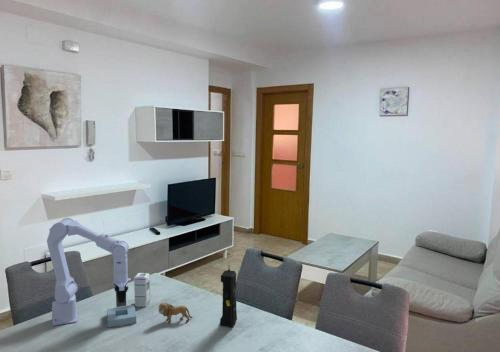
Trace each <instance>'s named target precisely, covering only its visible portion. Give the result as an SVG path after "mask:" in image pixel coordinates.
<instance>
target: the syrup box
mask: <svg viewBox="0 0 500 352" xmlns="http://www.w3.org/2000/svg"><path fill="white" fill-rule="evenodd" d="M133 282H134V283H133V286H134V290H133V291H134V307H138V308H139V307H141V308H143V307H144V308H145V307H146V308H147V307H148V305H149V304H150V302H151V288H150V287H151V285H150V284H151V283H150V282H151V281H150V273H149V272H138V273H137V274H136V275H134V277H133Z"/></svg>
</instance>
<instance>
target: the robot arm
mask: <svg viewBox="0 0 500 352" xmlns="http://www.w3.org/2000/svg"><path fill="white" fill-rule="evenodd" d="M48 231H49V233H48V236H47V238H46V244H47V249H48V253H49V255H50V260H51V264H52V268H53V272H54V275H55V281H56V282H55V285H54V290H55V291H54V300H53V301H52V304H51V314H52V315H51V319H52V321H51V322H52V326H58V325H59V326H60V325H64V324H72V323H77V322H78V316H79V314H78V312H77V297H76V293H78V290H79V287H78V284H77V283H76V282H75V280H74V277H72V276H71V275H70V270H69V267H68V263H67V258H66V254H65V250H64V247H63V246H64V245H63V240H64V239H65V238H66V236H68V237H69V236H70V237H71V236H76V235H78V236H81V237H82V238H85V239H88V240H89V241H92V242H94V243H95V245H96V246H97V247H98V248H100V249H102V250H104V251H106V252H108V253H110V254H111V256H112V257H113V285H114V288H113V289H114V292H115V294H116V293H117V296H118V301H119V303H123V302H124V301H125V296H126V297H127V292H128V290H129V286H128V285H127V284H128V282H131V277H129V276H128V274H129V271H128V269H129V267H128V266H129V264H128V260H129V259H128V251H129V243H127V242H126V241H125V240H120V239H115V238H113V237H111V236H110V234H108V233H102V234H99V233H97V232H95V231H93V230H91V229H90V228H89V227H87V226H85V225H83V224H81V223H80V222H78V221H77V220H74V219H73V218H70V217H65V218H62V219H61V220H59V221H58V222H56V223H54V224H53V225H52V226H51V227H50V228H49V229H48Z"/></svg>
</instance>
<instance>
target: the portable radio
mask: <svg viewBox="0 0 500 352" xmlns="http://www.w3.org/2000/svg"><path fill="white" fill-rule="evenodd" d="M228 267H230V265H229V264H228ZM220 282H221V283H222V311H221V312H222V313H221V314H222V315H221V317H220V318H219V323H220V324H219V326H220V327H225V328H233V327H235V324H236V322H237V320H238V317H237V316H238V315H237V311H238V310H237V297H236V290H237V272H236V271H235V270H231V269H230V268H228V270H226V269H225V270H224V271H223V272H222V274H220Z"/></svg>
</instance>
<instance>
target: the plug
mask: <svg viewBox="0 0 500 352" xmlns="http://www.w3.org/2000/svg"><path fill="white" fill-rule="evenodd" d="M115 303H116V304H115V305H116V306H115V308H116V307H124V306H127V295H126V296H125V301H124V302H123V303H119V301H118V296H117V293H116V292H115Z"/></svg>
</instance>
